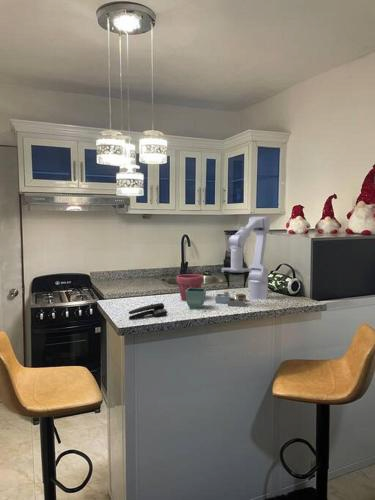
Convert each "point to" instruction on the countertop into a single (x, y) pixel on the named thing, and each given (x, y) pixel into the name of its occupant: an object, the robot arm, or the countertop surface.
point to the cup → (222, 298)
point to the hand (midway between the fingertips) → (236, 286)
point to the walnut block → (241, 296)
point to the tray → (236, 302)
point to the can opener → (157, 311)
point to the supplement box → (265, 281)
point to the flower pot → (195, 297)
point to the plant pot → (188, 283)
